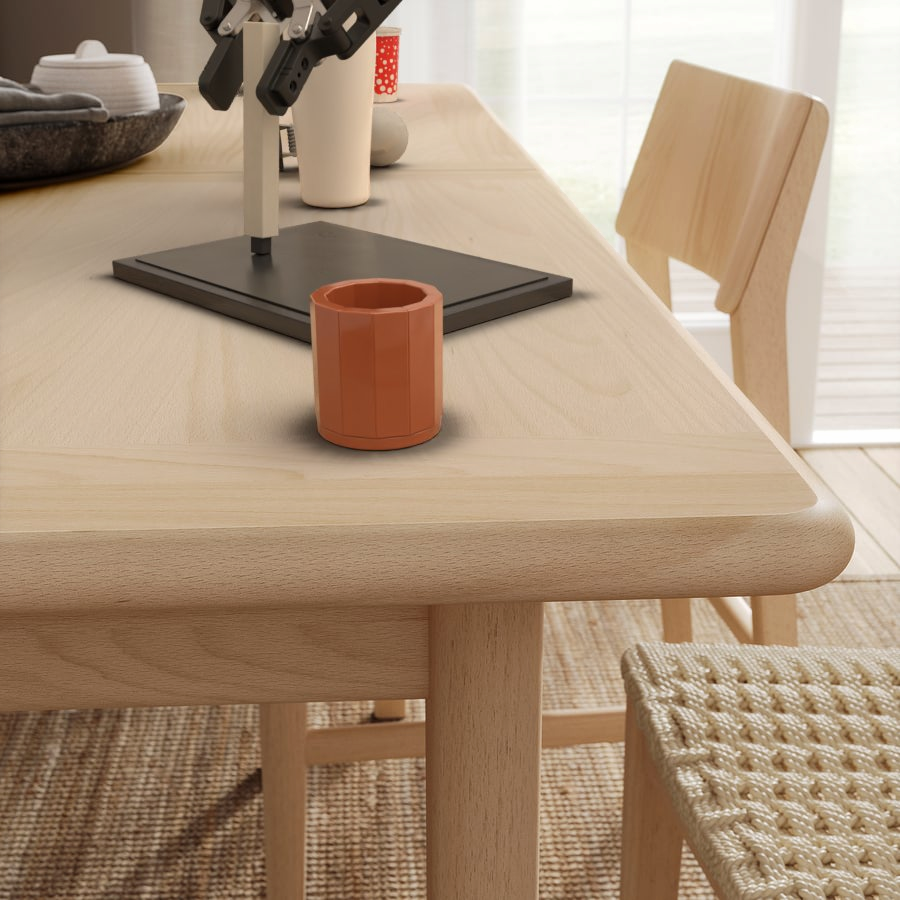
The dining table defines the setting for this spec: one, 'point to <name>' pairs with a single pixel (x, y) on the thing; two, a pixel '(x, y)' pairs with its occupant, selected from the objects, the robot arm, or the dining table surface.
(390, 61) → the beverage cup
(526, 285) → the tablet
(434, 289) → the pen pot
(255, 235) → the stylus
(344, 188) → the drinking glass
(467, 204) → the dining table surface
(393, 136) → the clip-on lamp
